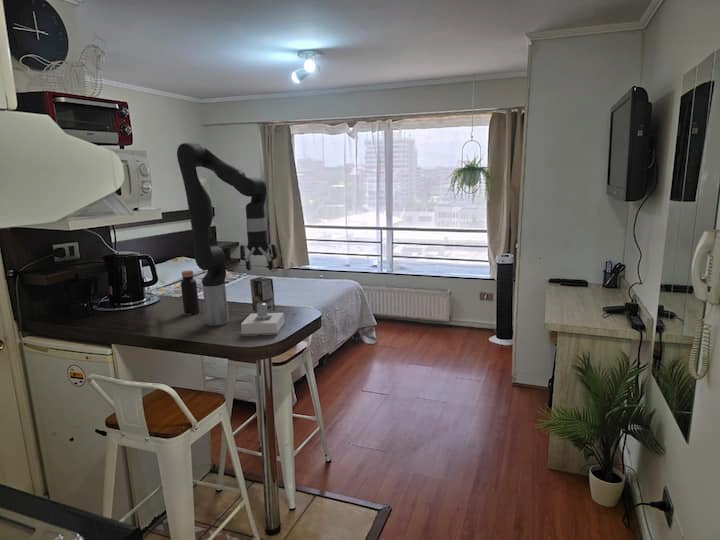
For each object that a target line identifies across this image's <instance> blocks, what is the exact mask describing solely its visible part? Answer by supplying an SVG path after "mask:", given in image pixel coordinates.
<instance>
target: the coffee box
mask: <svg viewBox="0 0 720 540" xmlns="http://www.w3.org/2000/svg"><path fill="white" fill-rule="evenodd" d="M249 281H250V282H249V283H250V291H251V301H252V302H251V303H252V304H251V305H252V313H257V304H258V303H263V302H264V303H267V312H268V313H276V306H275V294H274V293H275V292H274V282H273V278H269V277H265V276H264V277H263V276H258V277H255V278H252V279H251V278H250V279H249Z"/></svg>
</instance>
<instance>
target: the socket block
mask: <svg viewBox="0 0 720 540" xmlns="http://www.w3.org/2000/svg"><path fill="white" fill-rule="evenodd" d="M284 326H285V313H284V312H275V313H268V320H264V321H258V314H257V313H253V312H252V313H250V314H249V315H248V316H247V317H246V318H245V319H244V320H243V321H242V322H241V323H240V328H241V337H258V336H257V335H272V336H278V335H279V334H278V333H281V331H280V330H282V329H283V328H284Z"/></svg>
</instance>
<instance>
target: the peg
mask: <svg viewBox="0 0 720 540" xmlns="http://www.w3.org/2000/svg"><path fill="white" fill-rule="evenodd" d="M257 314H258V321H264V320H268V312H267V303H264V302H263V303H258V304H257Z"/></svg>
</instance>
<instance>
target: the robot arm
mask: <svg viewBox="0 0 720 540" xmlns="http://www.w3.org/2000/svg"><path fill="white" fill-rule="evenodd" d="M176 158H177V162H178V166H179V169H180V173H181V177H182V181H183V185H184V186H183V187H184V190H185V196H186V201H187V207H188V214H189V217H190V224H191V230H192V231H191V232H192V237H193V249H194V250H193V251H194V258H195V262H196V265H197V266H198V268H199V269H200V270H201V271H207V273H206V274H205V275H204V276H203V278H202V279H201V284H202V285H201V286H202V291H203V292H202V293H203V300H204V301H203V303H202V311H203V319H204V326H211V327H215V326H216V327H218V326H223V325H227V324H228V323H229V322H230V318H229V308H228V300H227V299H228V298H227V289H226V276H227V267H226V266H227V265H226V264H227V263H226V255H225V252H224V251H223V249H222V248H221V247H220V246H218V245H212V246H211V244H210V229H211V227H212V223H213V218H214V210H213V204H212V199H211V196H210V194H209V193H208V191H207V190H206V188H205V187H204V185H203V184H202V183H201V181H200V178H199V176H198V171H197V168H199V167H201V168H205V169H207V170H211V172H213V173H214V174H215V176H217V178H218V179H219V180H221V181H222V182H224V183H225V184H227V185H230V186H232V187H233V188H234V189H235V190H236V191H237V192H238V193H240V194H241V195H243V196H245V197H249V198H250V197H251V199H250V201H249V202H248V203H247V204H246V205H245V216H246V217H245V218H246V224H245V225H246V235H247V244H244V243H243V244H241V245H239V253H240V255H239V256H240V260H241V261H244V262H245V269H246V270H247V271H248V272H249V271H251V270H252V267H251V266H252V265H251V258H252V257H253V256H263V257H265V258H266V259H267V260H268V261H267V264H268V271H272V270H273V268H274V260H276V259H278V250H277V245H276V243H271V244H269V243H268V233H267V231H268V230H267V223H266V222H267V221H266V215H265V203H266V199H267V198H266V197H267V184H266V183H265V181H264V180H263V179H262V178H260V177H248V176H246V174H245V173H246V172H244V171H243V170H242V169H239V168H237V167H235V166H233V165H232V164H229V163H228V162H226V161H225V160H223V159H221V158H220V157H218V156H216V154H215V153H213V152H212V151H210V150H209V149H208V148H207V147H205V146H204V145H202V144H199V143H192V142H191V143H188V142H185V143H180V144H179V145H178V147H177V151H176ZM268 249H270V250H271V253H272V255H271V253H270V252H269V250H268ZM246 250H248V251H249V252H248V254H247V255H246Z"/></svg>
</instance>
